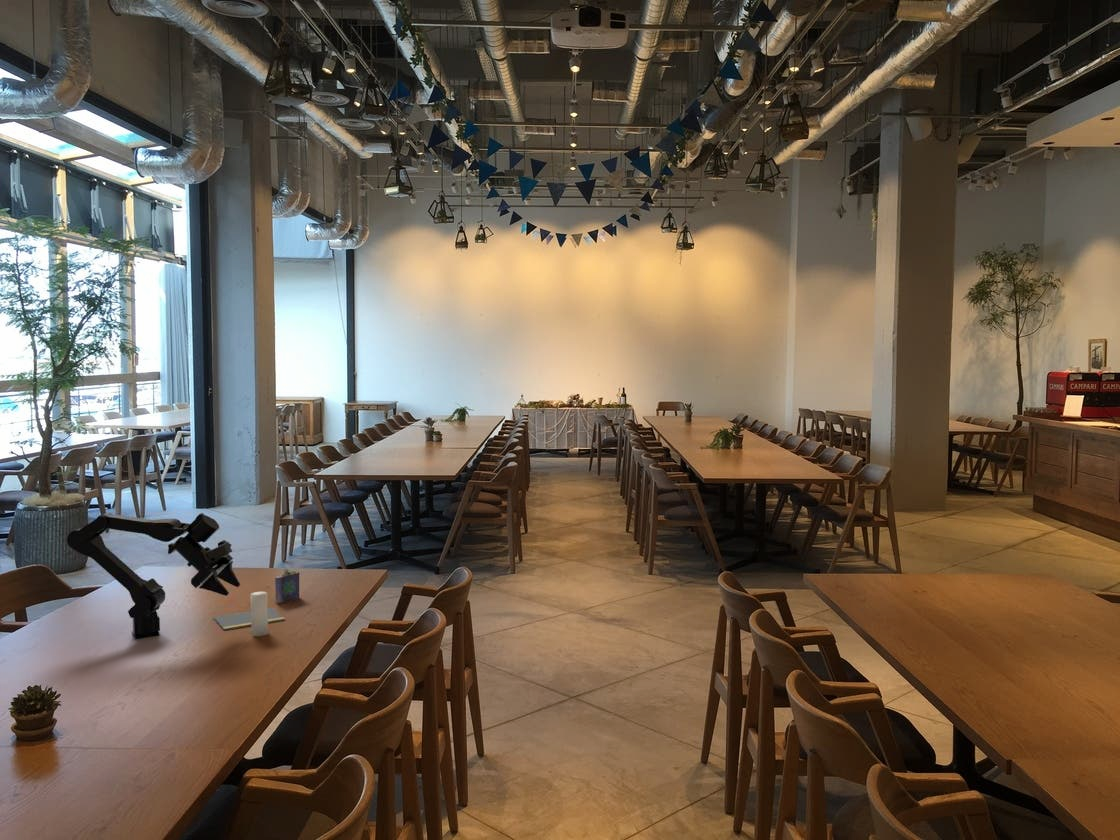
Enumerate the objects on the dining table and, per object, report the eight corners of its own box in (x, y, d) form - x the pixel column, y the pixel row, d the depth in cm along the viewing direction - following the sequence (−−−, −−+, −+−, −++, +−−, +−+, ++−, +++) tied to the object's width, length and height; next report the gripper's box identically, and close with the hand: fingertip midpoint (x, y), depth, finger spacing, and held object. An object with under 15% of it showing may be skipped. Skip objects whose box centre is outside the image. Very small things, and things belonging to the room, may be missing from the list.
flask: (278, 604, 285) (278, 572, 284) (272, 603, 287) (272, 571, 286) (301, 598, 293) (300, 566, 292) (295, 596, 294) (295, 565, 294)
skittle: (253, 637, 252) (252, 596, 251) (249, 633, 256) (248, 593, 255) (270, 634, 255) (269, 594, 254) (265, 630, 259) (264, 590, 258)
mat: (224, 630, 258) (224, 628, 258) (213, 618, 270) (213, 616, 270) (285, 620, 269) (285, 618, 268) (272, 609, 280) (272, 607, 280)
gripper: (200, 540, 244) (241, 579, 245) (225, 527, 262) (262, 563, 263) (173, 568, 244) (214, 606, 245) (199, 553, 263) (237, 589, 264)
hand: (233, 590), depth 254 cm, fingers open, 9 cm apart
